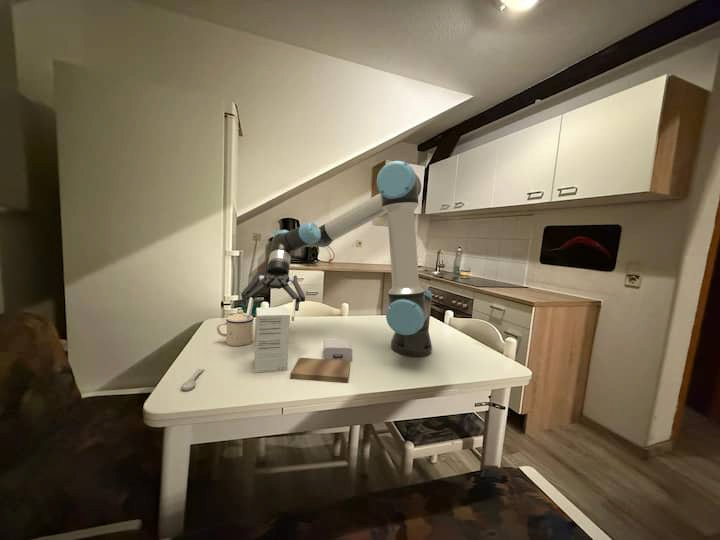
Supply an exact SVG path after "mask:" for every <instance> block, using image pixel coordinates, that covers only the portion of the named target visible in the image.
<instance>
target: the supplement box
mask: <svg viewBox="0 0 720 540" xmlns="http://www.w3.org/2000/svg"><path fill="white" fill-rule="evenodd" d="M290 318H291V314H290V313H289V311H288V308H287V307H286V306H283V307H282V306H279V307H278V306H277V307H256V309H255V324H254V325H255V326H254V327H255V329H254V354H253V355H254V358H253V360H254V363H253V364H254V373H255V374H256V373H259V374H260V373H267V372H278V371H279V372H280V371H287V370H288V366H289V365H288V360H289V335H290V324H291V323H290V320H291V319H290Z"/></svg>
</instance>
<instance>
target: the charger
mask: <svg viewBox="0 0 720 540" xmlns="http://www.w3.org/2000/svg"><path fill="white" fill-rule="evenodd" d="M352 347H353V346H352V343H351V340H350V339H349V338H339V337H333V338H329V337H328V338H325V339H323V351H322V352H323V354H322V355H323V356H322V357H323V358H322V359H327V360H341V361H350V362H351V361H353V348H352Z"/></svg>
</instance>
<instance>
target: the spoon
mask: <svg viewBox="0 0 720 540" xmlns="http://www.w3.org/2000/svg"><path fill="white" fill-rule="evenodd" d="M205 371H206V369H205V368H198V369H197V368H196V371H195V372H194V373H193V374H192V375H191V377H190V378H189V379H188V380H187V381H185V382H183V383H182V384H181V387H180V388H181V389H182V391H185V392H187V391H191V390H192V389H194V388H195V387H196V385H197V382H196V381H195V380H196V379H197V377H198V376H199V375H201V374H203V373H204V372H205Z"/></svg>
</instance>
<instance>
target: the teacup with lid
mask: <svg viewBox="0 0 720 540" xmlns="http://www.w3.org/2000/svg"><path fill="white" fill-rule="evenodd" d="M236 311H237V312H235V313H233V314H231V315H228V316H227V317H226V319H225V322H221V323H219V324H218V325H217V326H216V332H217V334H218V335H219V336H221V337H226V339H225V340H226V341H225V342H226V344H227V345H229V346H232V347H243V346H247V345H249V344H251V343H252V342H253V331H254V330H253V329H254V328H253V326H254V316H253V315H251V316H250V320H247V317H246V313H247V312H244V310H243V309H238V310H236ZM221 326H226V333H222V332H221V331H220V327H221Z"/></svg>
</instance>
